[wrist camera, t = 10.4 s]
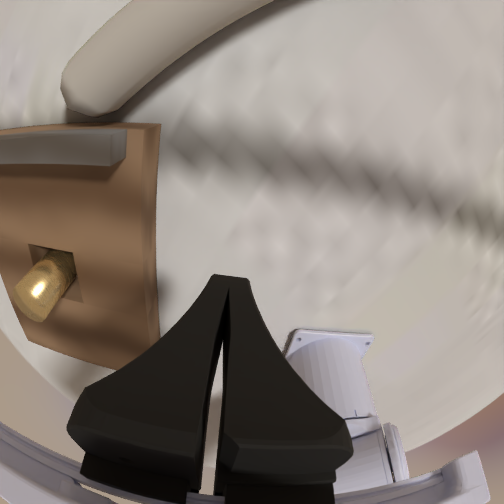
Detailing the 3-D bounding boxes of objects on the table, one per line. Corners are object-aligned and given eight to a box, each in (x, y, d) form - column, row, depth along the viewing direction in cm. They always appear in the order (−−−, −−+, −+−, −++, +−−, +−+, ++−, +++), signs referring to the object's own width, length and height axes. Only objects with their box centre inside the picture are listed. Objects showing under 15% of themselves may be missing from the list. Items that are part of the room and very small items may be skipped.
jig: (162, 356, 27) (151, 396, 23) (39, 323, 26) (20, 352, 22) (161, 124, 16) (128, 135, 12) (-2, 130, 15) (-42, 146, 11)
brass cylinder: (89, 271, 22) (50, 327, 16) (61, 264, 22) (20, 315, 16) (85, 239, 20) (38, 292, 14) (55, 233, 20) (7, 281, 14)
